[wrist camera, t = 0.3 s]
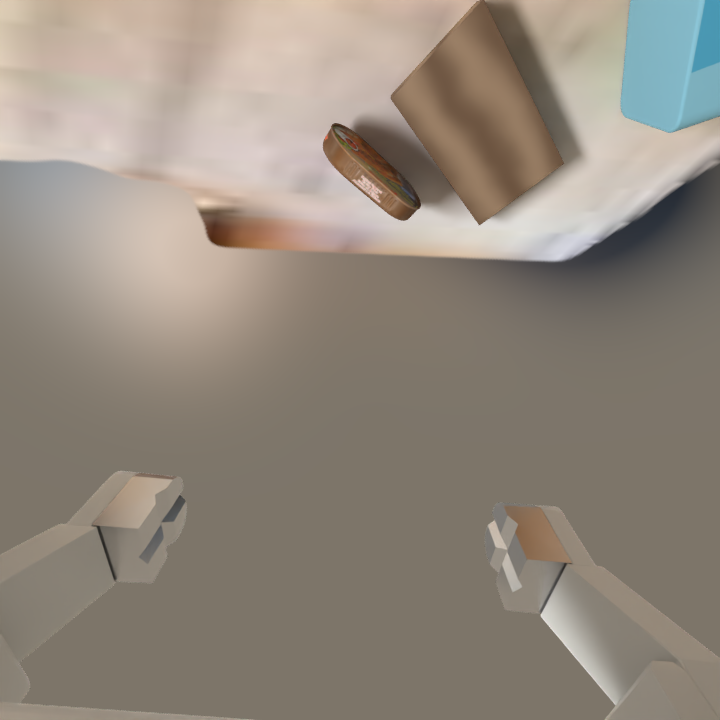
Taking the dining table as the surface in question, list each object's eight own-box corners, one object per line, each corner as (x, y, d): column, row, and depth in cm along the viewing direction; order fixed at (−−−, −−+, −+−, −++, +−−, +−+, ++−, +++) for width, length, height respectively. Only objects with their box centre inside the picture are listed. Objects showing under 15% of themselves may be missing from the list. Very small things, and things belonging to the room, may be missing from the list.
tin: (420, 192, 51) (424, 214, 45) (405, 209, 53) (407, 232, 47) (337, 115, 46) (329, 128, 39) (324, 137, 47) (314, 153, 41)
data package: (660, 100, 42) (731, 117, 34) (618, 116, 44) (675, 136, 35) (682, -39, 35) (779, -62, 26) (630, -15, 36) (706, -30, 28)
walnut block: (476, 1, 38) (483, -1, 35) (553, 155, 48) (564, 163, 45) (390, 94, 44) (391, 99, 41) (474, 214, 53) (479, 225, 51)
